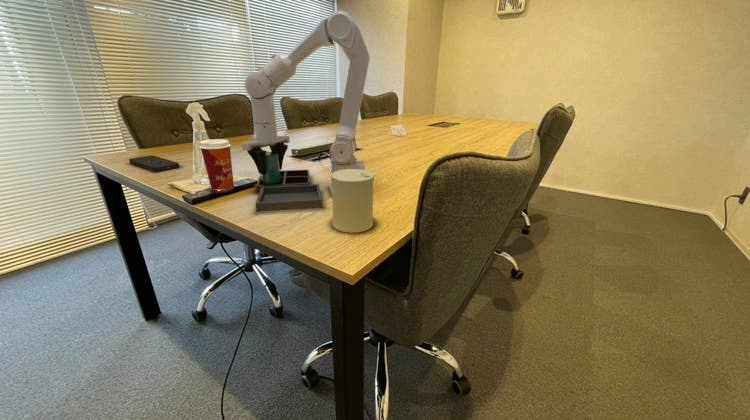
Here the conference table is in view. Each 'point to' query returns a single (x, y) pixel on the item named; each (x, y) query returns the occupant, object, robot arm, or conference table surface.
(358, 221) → the can
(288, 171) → the cup rack
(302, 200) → the tray
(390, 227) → the conference table surface
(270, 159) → the teal cup
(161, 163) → the smart home device
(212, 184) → the paper cup
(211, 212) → the conference table surface
